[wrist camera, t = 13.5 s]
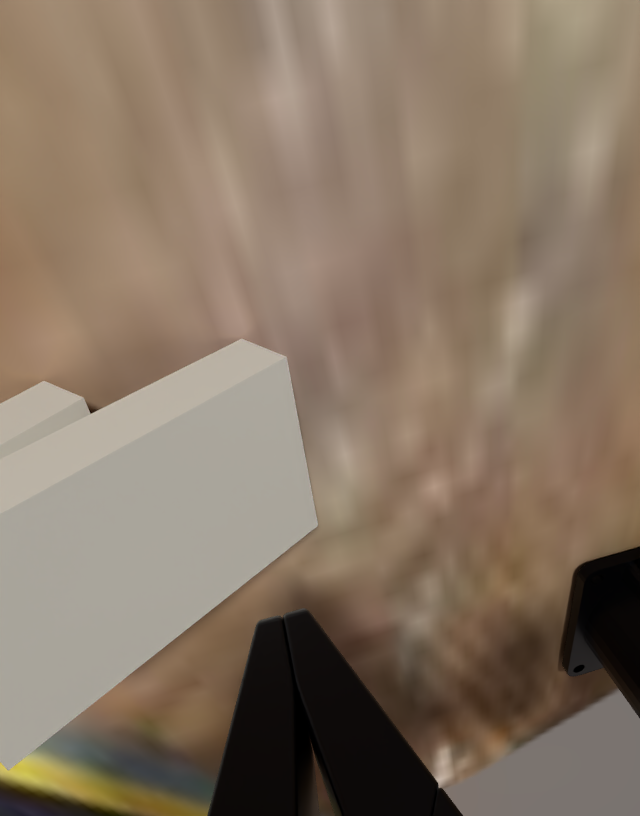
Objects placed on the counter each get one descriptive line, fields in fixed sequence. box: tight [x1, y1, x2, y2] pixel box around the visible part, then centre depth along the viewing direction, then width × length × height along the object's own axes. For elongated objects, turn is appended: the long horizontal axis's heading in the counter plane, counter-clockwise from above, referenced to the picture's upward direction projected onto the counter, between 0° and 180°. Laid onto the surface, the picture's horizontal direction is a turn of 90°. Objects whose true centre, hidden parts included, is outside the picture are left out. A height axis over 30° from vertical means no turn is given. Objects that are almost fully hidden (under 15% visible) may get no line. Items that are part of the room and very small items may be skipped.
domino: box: [0, 339, 318, 770], centre depth 12 cm, size 5×2×8 cm
